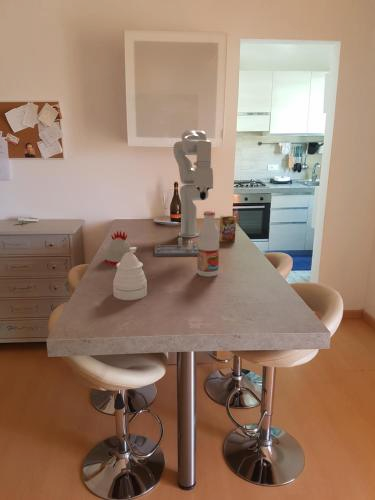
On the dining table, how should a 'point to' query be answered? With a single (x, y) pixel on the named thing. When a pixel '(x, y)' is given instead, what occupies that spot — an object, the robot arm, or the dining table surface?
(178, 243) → the fader
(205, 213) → the fruit juice
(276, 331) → the dining table surface
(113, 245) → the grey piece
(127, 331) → the dining table surface
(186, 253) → the console
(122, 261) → the honey pot
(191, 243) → the fader
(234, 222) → the candy box
